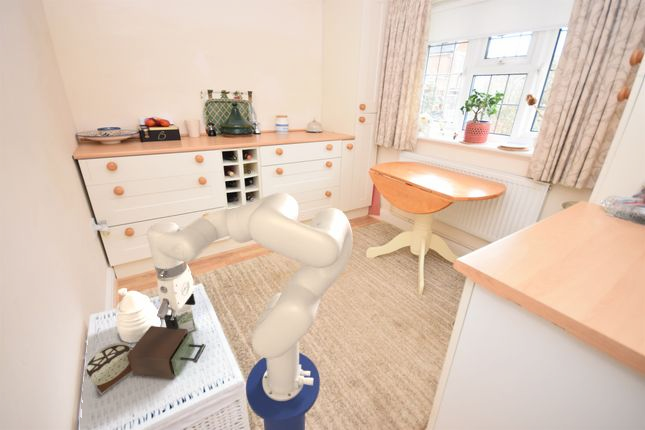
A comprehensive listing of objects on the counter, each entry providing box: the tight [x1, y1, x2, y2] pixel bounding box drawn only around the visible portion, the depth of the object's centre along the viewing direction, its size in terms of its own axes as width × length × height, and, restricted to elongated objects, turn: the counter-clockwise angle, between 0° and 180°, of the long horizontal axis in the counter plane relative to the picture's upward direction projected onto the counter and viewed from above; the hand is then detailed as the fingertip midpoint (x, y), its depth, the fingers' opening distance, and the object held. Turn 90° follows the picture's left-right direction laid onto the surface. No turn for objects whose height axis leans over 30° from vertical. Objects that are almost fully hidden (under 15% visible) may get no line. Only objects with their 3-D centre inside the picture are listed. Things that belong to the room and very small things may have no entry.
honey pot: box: [115, 287, 162, 344], centre depth 103 cm, size 13×13×18 cm
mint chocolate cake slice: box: [84, 342, 134, 395], centre depth 87 cm, size 12×6×10 cm, turn 149°
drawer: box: [170, 332, 206, 377], centre depth 92 cm, size 17×10×7 cm, turn 85°
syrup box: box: [169, 304, 196, 333], centre depth 104 cm, size 6×6×14 cm
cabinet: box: [127, 326, 188, 380], centre depth 93 cm, size 13×12×9 cm
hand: (181, 315), depth 85 cm, fingers open, 9 cm apart
